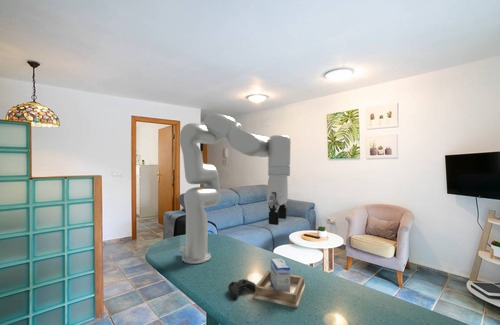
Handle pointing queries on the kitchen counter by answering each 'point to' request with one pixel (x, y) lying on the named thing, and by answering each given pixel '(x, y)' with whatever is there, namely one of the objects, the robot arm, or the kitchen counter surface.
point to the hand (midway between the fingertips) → (277, 221)
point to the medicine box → (280, 275)
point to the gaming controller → (240, 287)
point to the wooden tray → (277, 296)
